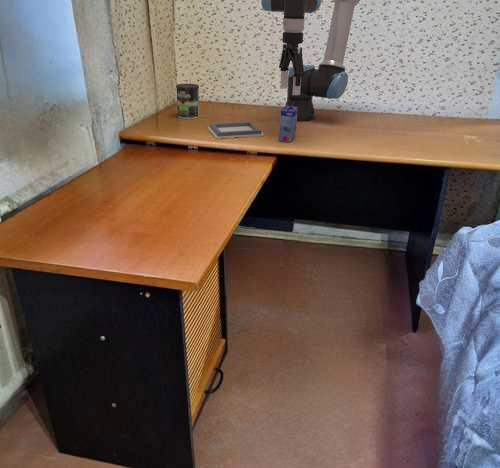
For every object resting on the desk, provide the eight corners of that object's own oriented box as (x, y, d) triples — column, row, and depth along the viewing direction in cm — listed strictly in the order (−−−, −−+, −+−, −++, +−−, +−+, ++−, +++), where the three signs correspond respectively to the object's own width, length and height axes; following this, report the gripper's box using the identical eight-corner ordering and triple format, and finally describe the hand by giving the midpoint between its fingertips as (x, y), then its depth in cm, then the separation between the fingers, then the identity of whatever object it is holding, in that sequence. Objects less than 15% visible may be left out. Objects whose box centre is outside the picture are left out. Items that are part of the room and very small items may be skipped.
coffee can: (193, 120, 217) (192, 88, 210) (173, 117, 220) (171, 86, 214) (203, 115, 225) (202, 84, 219) (184, 113, 229) (183, 82, 222)
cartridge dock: (252, 126, 208) (252, 121, 207) (264, 136, 195) (264, 130, 194) (207, 129, 203) (207, 123, 202) (215, 139, 189) (215, 133, 188)
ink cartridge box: (292, 143, 187) (294, 105, 180) (278, 141, 188) (280, 104, 181) (296, 136, 195) (298, 100, 189) (283, 135, 196) (284, 99, 190)
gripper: (272, 29, 183) (270, 86, 193) (295, 34, 162) (292, 98, 171) (290, 29, 185) (287, 85, 195) (316, 34, 164) (311, 97, 173)
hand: (289, 91), depth 183 cm, fingers open, 13 cm apart
